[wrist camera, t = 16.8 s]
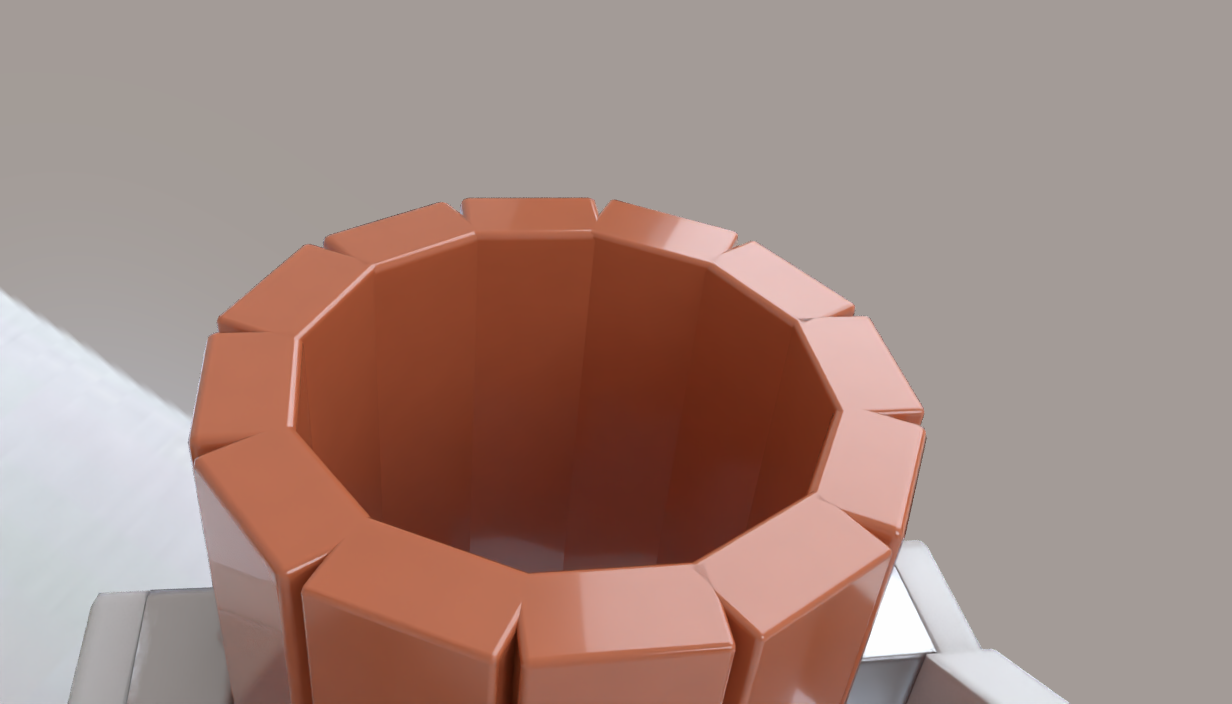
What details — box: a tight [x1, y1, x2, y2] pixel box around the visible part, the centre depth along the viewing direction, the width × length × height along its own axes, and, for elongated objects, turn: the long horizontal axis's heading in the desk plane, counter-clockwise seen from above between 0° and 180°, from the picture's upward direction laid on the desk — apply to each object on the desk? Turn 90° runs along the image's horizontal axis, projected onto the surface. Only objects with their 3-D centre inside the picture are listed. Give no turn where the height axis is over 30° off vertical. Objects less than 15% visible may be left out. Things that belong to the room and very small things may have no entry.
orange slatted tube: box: [188, 198, 926, 704], centre depth 12 cm, size 6×6×9 cm
